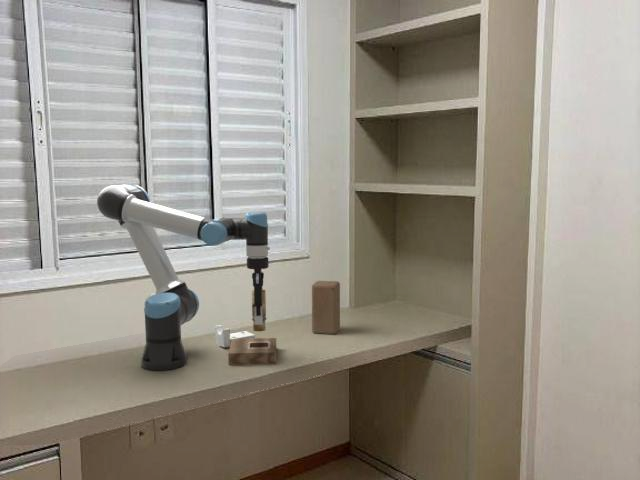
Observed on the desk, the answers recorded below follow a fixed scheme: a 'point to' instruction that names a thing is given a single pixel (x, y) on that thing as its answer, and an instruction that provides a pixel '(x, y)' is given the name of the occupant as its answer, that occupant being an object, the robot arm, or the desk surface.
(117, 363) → the desk surface
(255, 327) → the oak peg
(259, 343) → the seat board
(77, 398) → the desk surface
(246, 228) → the robot arm
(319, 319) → the wooden block
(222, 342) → the bracket
